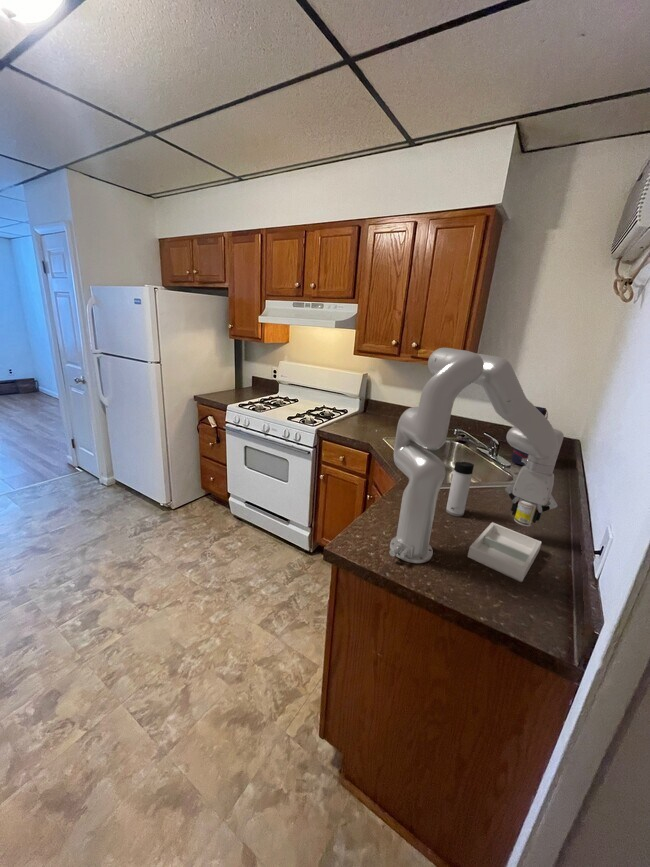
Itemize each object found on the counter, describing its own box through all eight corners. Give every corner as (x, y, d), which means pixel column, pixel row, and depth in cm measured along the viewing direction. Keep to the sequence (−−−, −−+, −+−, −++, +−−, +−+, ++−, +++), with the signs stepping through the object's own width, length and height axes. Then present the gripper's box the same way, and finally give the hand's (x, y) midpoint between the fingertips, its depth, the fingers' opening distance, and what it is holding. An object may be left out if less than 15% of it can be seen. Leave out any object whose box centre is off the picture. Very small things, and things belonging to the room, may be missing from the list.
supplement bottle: (525, 518, 121) (533, 490, 118) (535, 527, 116) (544, 499, 113) (509, 517, 120) (517, 490, 117) (520, 526, 115) (528, 498, 112)
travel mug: (453, 518, 128) (463, 466, 122) (442, 508, 134) (452, 459, 128) (467, 516, 130) (478, 465, 124) (456, 507, 136) (466, 458, 130)
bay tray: (521, 582, 98) (524, 571, 97) (467, 556, 107) (469, 546, 106) (539, 551, 112) (541, 541, 111) (489, 531, 122) (492, 522, 120)
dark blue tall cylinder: (534, 470, 177) (550, 412, 168) (508, 463, 184) (522, 407, 175) (538, 463, 188) (553, 407, 179) (513, 456, 194) (526, 402, 185)
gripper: (507, 460, 115) (493, 510, 120) (569, 479, 104) (551, 533, 109) (513, 455, 120) (500, 503, 125) (573, 473, 109) (556, 524, 115)
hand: (524, 516), depth 117 cm, fingers closed on supplement bottle, 5 cm apart
